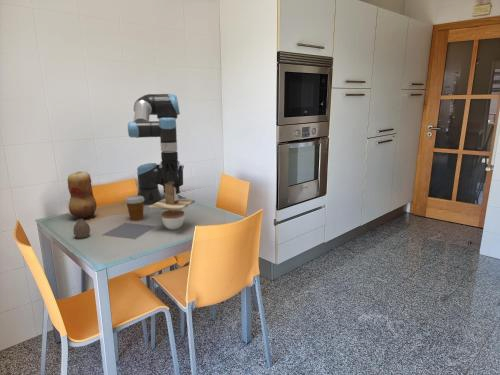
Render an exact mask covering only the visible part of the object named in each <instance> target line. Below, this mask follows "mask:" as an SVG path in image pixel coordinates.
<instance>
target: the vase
mask: <svg viewBox="0 0 500 375" xmlns="http://www.w3.org/2000/svg"><path fill="white" fill-rule="evenodd" d="M72 230H73V235H74V236H75V238H76V239H81V240H82V239H86V238H88V237H89V236H90V234H91V227H90V225H89V223H88V222H87V221H86V220H85V218H78V219H77V220H76V223H75V224H74V226H73V229H72Z"/></svg>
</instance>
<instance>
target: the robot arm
mask: <svg viewBox="0 0 500 375" xmlns="http://www.w3.org/2000/svg"><path fill="white" fill-rule="evenodd" d="M133 112H134V114H133V115H134V116H133V121H129V122H128V123H127V133H128V137H130V138H137V139H138V138H159V139H160V141H159V142H160V152H161V153H160V155H161V156H160V158H161V160H160V163H158V164H157V163H156V162H149V163H145V164H141V165H139V166H138V167H137V168H136V175H137V183H138V184H137V185H138V192H137V195H138V196H143V197H144V199H145V200H144V205H152V204H154V203H156V202H159V201H161V200H163V198H162V195H161V192H160V190H159V186H162V187H163V193H164V194H165V183H168V182H174V184H175V187H174V201H177V200H178V199H180V198H179V194H180V193H181V192H180V187H181V186H183V185H184V168H185V166H184V164H181V163H180V161H179V160H178V159H179V157H178V156H179V154H178V139H177V137H178V136H177V122H176V120H177V119H178V116H179V115H180V114H181V112H180V106H179V101H178V98H177V95H176V94H174V93H155V94H154V93H149V94H145V95H142V96H141V97H139V98H138V99H136V101H135V102H134V105H133ZM152 115H153V116H156V118H157V119H158V121H157V120H156V121H155V120H154V121H150V116H152ZM165 198H166V197H164V199H165Z"/></svg>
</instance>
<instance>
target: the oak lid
mask: <svg viewBox="0 0 500 375" xmlns="http://www.w3.org/2000/svg"><path fill="white" fill-rule="evenodd" d="M174 187H175V184H174V182H168V183H165V193H164V194H165V197H166V198H165V197H164V198H162V200H161V201H159V202H156V203H154V204H149V206H148V209H151V210H161V211H162V210H164V211H168V210H172V211H183V210H184V209H186V208H188V206H191V205H192V204H194V203H195V199H186V198H179V199H178V200H177V201H174Z"/></svg>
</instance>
